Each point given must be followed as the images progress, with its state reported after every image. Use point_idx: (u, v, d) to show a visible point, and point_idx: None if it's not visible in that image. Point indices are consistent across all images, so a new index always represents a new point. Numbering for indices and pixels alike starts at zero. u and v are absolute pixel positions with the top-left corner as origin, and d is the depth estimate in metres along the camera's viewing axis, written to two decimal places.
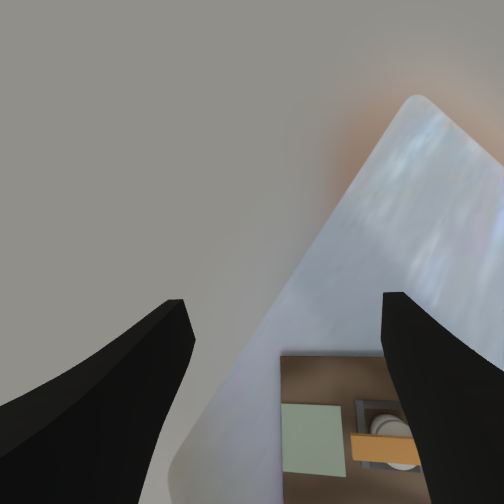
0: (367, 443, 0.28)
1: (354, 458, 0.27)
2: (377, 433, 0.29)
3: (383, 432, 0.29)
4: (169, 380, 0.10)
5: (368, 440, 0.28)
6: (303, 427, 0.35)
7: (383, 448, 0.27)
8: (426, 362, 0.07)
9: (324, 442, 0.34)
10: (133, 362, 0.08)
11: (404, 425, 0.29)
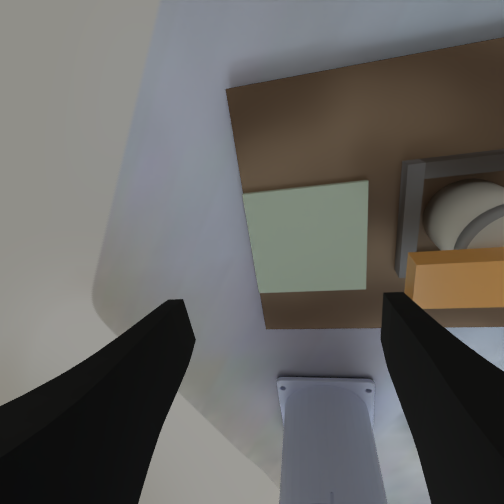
0: (457, 276, 0.11)
1: None
2: (471, 239, 0.12)
3: (490, 236, 0.12)
4: (169, 379, 0.10)
5: (462, 270, 0.11)
6: (290, 229, 0.18)
7: (499, 282, 0.11)
8: (426, 362, 0.07)
9: (330, 247, 0.18)
10: (132, 362, 0.08)
11: None
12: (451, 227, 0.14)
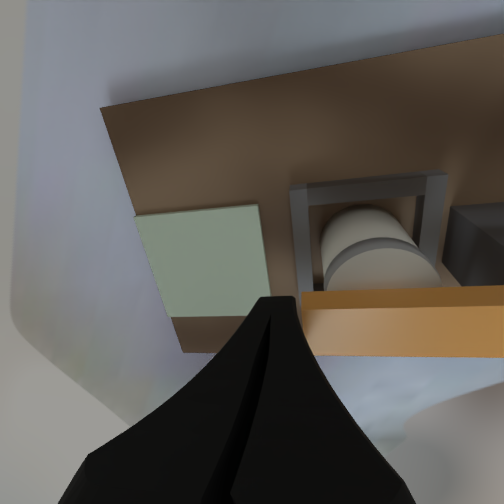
0: (347, 323, 0.09)
1: None
2: (330, 277, 0.11)
3: (345, 276, 0.11)
4: None
5: (351, 317, 0.09)
6: (187, 253, 0.17)
7: (392, 330, 0.09)
8: None
9: (230, 272, 0.17)
10: (258, 364, 0.07)
11: (408, 255, 0.10)
12: (326, 260, 0.13)
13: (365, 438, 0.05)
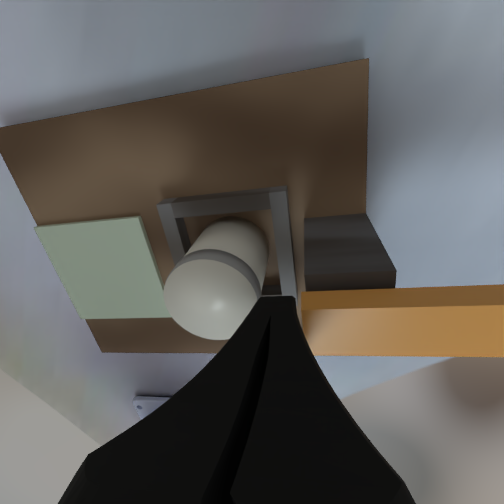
0: (347, 322, 0.09)
1: None
2: None
3: (173, 283, 0.12)
4: None
5: (351, 316, 0.09)
6: (86, 260, 0.18)
7: (392, 330, 0.09)
8: None
9: (127, 277, 0.18)
10: (258, 364, 0.07)
11: (218, 266, 0.11)
12: None
13: (365, 438, 0.05)
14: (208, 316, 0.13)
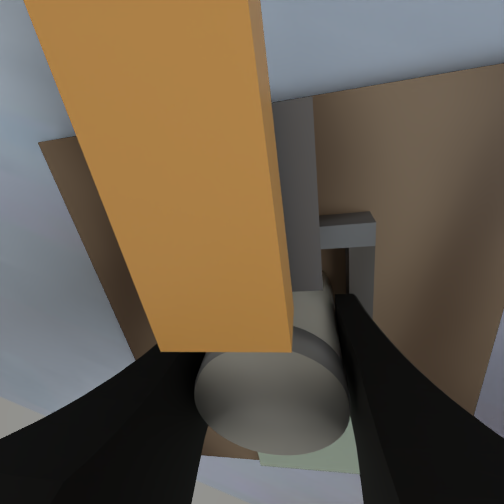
0: (169, 270, 0.04)
1: (278, 344, 0.04)
2: None
3: (237, 437, 0.08)
4: None
5: (149, 263, 0.04)
6: None
7: (161, 158, 0.03)
8: (354, 361, 0.07)
9: None
10: (183, 363, 0.08)
11: (198, 387, 0.08)
12: None
13: None
14: (295, 415, 0.08)
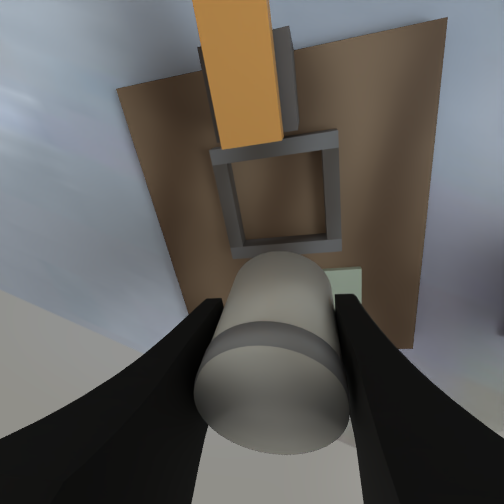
0: (230, 98, 0.09)
1: (276, 136, 0.09)
2: None
3: (237, 436, 0.08)
4: None
5: (221, 96, 0.09)
6: None
7: (231, 43, 0.08)
8: (355, 361, 0.07)
9: None
10: (183, 363, 0.08)
11: (198, 386, 0.08)
12: None
13: None
14: (295, 414, 0.08)
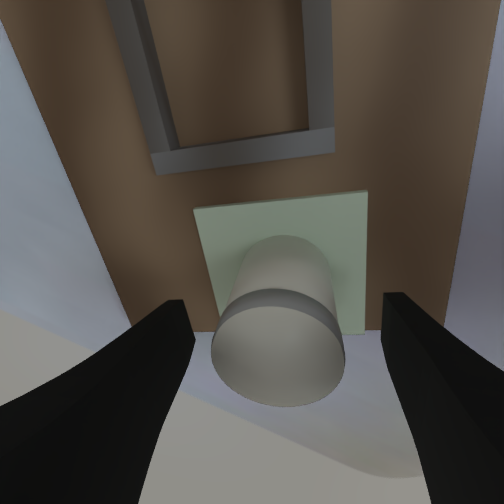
0: None
1: None
2: None
3: (248, 391, 0.10)
4: (169, 379, 0.10)
5: None
6: None
7: None
8: (426, 362, 0.07)
9: None
10: (132, 362, 0.08)
11: (215, 344, 0.09)
12: None
13: None
14: (298, 367, 0.09)
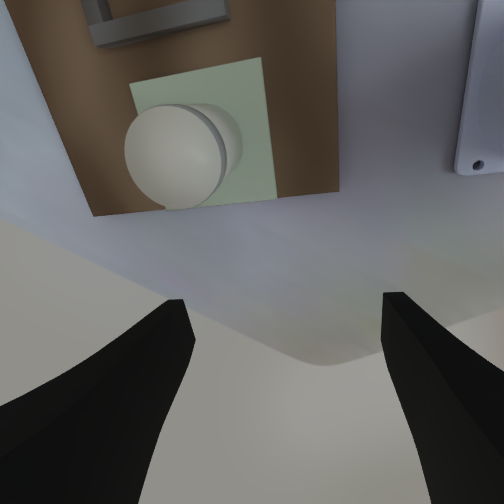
0: None
1: None
2: None
3: (157, 195, 0.13)
4: (169, 379, 0.10)
5: None
6: None
7: None
8: (426, 362, 0.07)
9: None
10: (133, 362, 0.08)
11: (126, 148, 0.12)
12: None
13: None
14: (188, 163, 0.12)
